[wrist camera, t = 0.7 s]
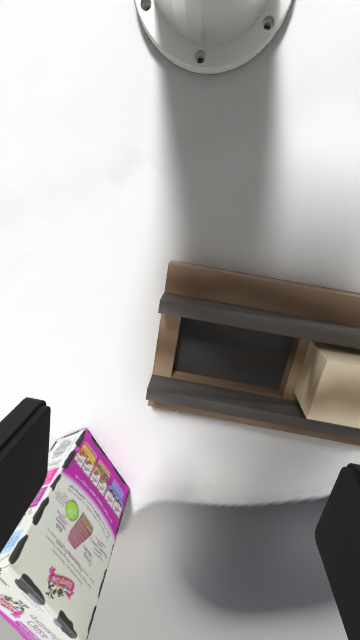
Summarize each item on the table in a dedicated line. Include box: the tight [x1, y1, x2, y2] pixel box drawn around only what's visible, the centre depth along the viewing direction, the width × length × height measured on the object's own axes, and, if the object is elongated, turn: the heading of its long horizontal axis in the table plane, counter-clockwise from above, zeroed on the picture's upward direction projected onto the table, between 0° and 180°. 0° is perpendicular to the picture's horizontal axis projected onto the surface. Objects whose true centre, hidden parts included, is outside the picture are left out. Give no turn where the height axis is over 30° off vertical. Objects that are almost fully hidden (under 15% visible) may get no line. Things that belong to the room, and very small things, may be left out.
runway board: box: [146, 261, 360, 446], centre depth 31 cm, size 16×38×5 cm, turn 81°
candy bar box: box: [0, 428, 130, 640], centre depth 33 cm, size 11×5×16 cm, turn 28°
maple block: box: [294, 340, 360, 429], centre depth 30 cm, size 6×6×4 cm
